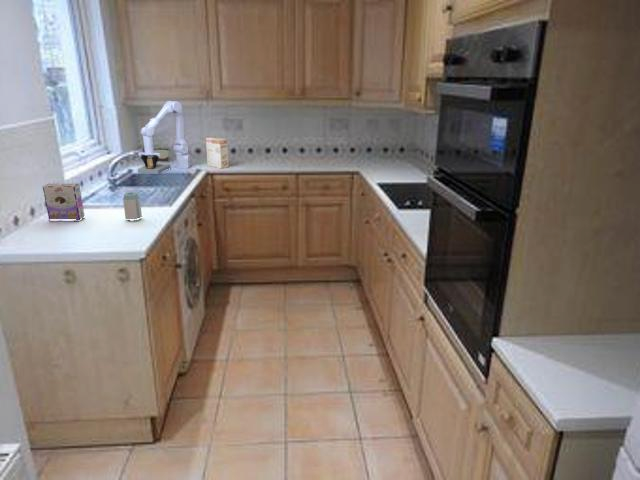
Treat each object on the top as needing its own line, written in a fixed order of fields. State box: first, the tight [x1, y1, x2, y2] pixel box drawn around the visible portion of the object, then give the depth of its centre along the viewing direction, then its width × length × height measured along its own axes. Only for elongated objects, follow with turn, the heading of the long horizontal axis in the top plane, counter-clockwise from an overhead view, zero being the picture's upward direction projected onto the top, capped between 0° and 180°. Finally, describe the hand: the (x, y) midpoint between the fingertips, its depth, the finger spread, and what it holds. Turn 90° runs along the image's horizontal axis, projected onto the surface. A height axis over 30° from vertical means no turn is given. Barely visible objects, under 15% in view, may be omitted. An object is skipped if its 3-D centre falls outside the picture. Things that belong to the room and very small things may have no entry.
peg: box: [147, 157, 154, 169], centre depth 317 cm, size 4×4×9 cm
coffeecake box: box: [205, 136, 229, 169], centre depth 335 cm, size 15×7×20 cm, turn 51°
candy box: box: [42, 182, 85, 220], centre depth 217 cm, size 14×6×16 cm, turn 92°
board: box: [137, 163, 171, 175], centre depth 322 cm, size 14×18×2 cm
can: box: [122, 192, 143, 220], centre depth 219 cm, size 7×7×12 cm
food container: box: [153, 146, 171, 163], centre depth 353 cm, size 12×6×10 cm, turn 84°
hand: (150, 167), depth 318 cm, fingers open, 5 cm apart
